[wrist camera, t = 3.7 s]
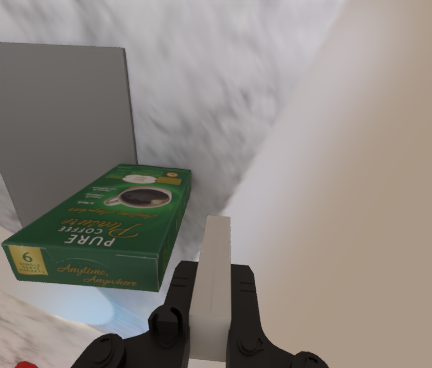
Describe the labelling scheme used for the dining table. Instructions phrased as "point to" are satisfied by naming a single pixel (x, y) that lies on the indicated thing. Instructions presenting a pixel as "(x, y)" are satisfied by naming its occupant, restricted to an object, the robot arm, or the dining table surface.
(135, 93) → the dining table surface
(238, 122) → the dining table surface
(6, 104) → the slate mat
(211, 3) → the dining table surface
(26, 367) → the french fries
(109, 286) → the coffee box
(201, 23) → the dining table surface
